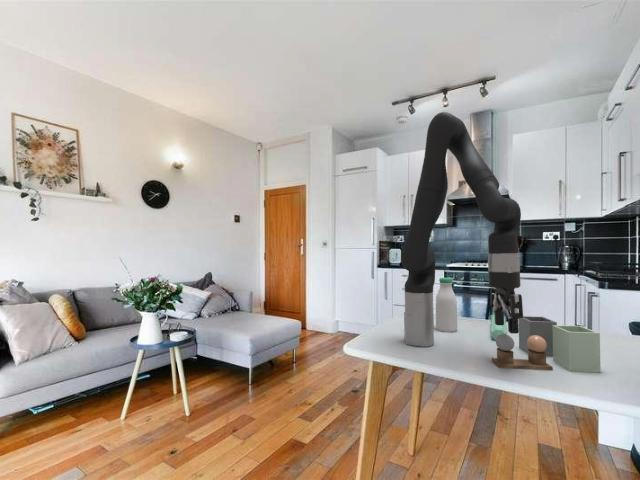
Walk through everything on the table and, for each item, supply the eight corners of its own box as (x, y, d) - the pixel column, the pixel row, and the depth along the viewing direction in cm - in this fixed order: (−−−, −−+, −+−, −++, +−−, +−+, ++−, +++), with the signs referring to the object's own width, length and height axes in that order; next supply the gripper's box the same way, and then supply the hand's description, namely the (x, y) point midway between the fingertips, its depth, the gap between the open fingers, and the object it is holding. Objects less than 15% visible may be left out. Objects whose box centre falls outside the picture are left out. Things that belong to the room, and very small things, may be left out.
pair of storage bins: (552, 370, 82) (551, 331, 82) (519, 347, 100) (518, 316, 100) (600, 372, 80) (599, 333, 80) (557, 349, 98) (557, 317, 98)
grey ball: (499, 353, 84) (499, 336, 84) (493, 347, 89) (492, 332, 89) (517, 353, 84) (517, 337, 84) (510, 348, 88) (509, 332, 88)
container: (504, 325, 105) (502, 309, 127) (485, 329, 108) (487, 314, 130) (512, 342, 104) (509, 324, 126) (493, 346, 107) (493, 328, 129)
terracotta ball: (532, 354, 83) (531, 337, 83) (524, 348, 87) (523, 333, 87) (550, 355, 82) (550, 338, 82) (541, 349, 87) (540, 333, 87)
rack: (499, 367, 84) (499, 352, 84) (491, 360, 89) (491, 346, 89) (552, 370, 82) (552, 354, 82) (542, 363, 87) (541, 348, 87)
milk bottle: (460, 332, 118) (459, 279, 118) (440, 332, 118) (439, 279, 118) (452, 327, 125) (451, 277, 126) (433, 327, 126) (432, 277, 126)
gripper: (479, 268, 94) (482, 322, 94) (500, 271, 80) (502, 336, 80) (506, 267, 93) (509, 323, 93) (532, 271, 79) (535, 336, 78)
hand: (506, 328), depth 86 cm, fingers open, 8 cm apart
